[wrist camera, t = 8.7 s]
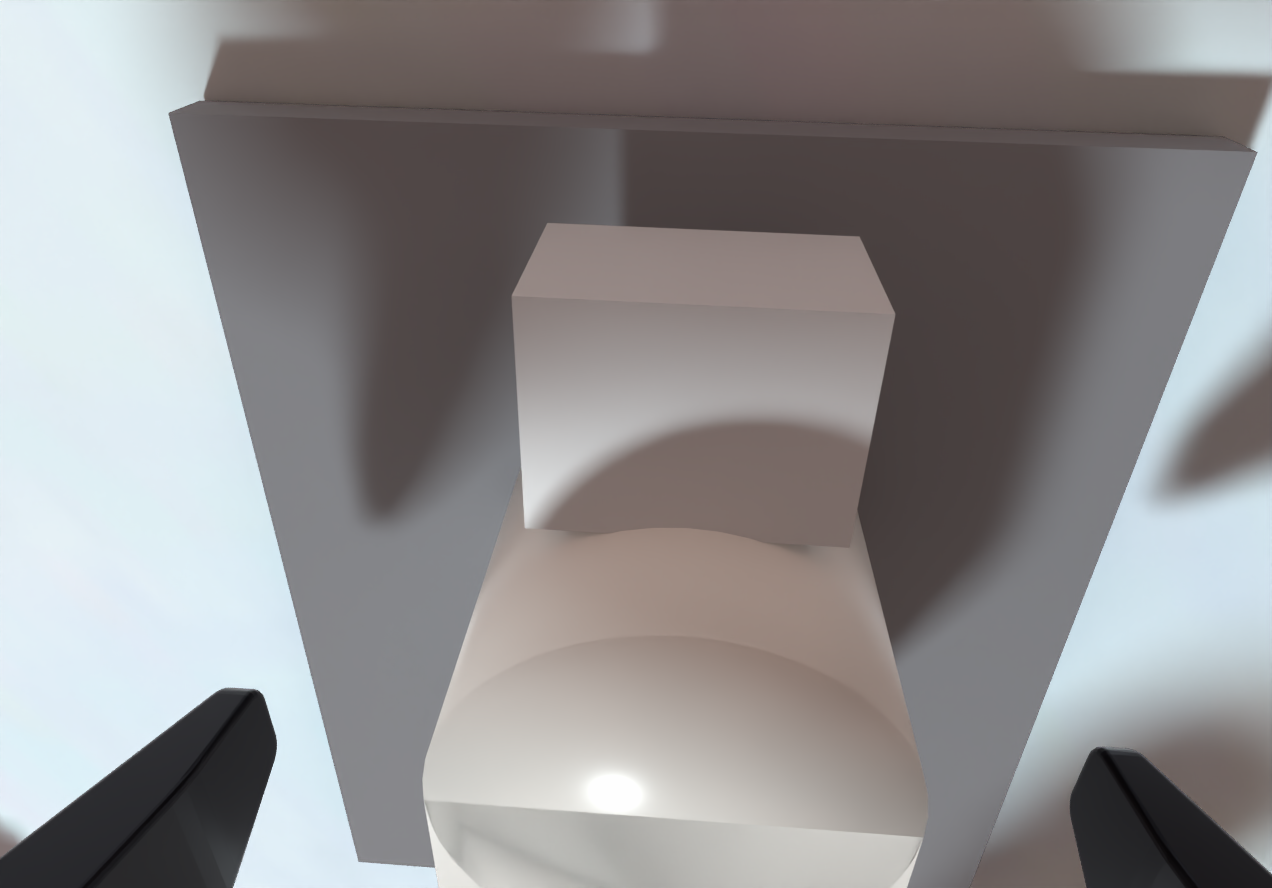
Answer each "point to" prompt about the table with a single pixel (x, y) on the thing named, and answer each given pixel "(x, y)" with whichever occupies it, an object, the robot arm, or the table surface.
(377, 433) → the coaster
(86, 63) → the table surface
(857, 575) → the plug
